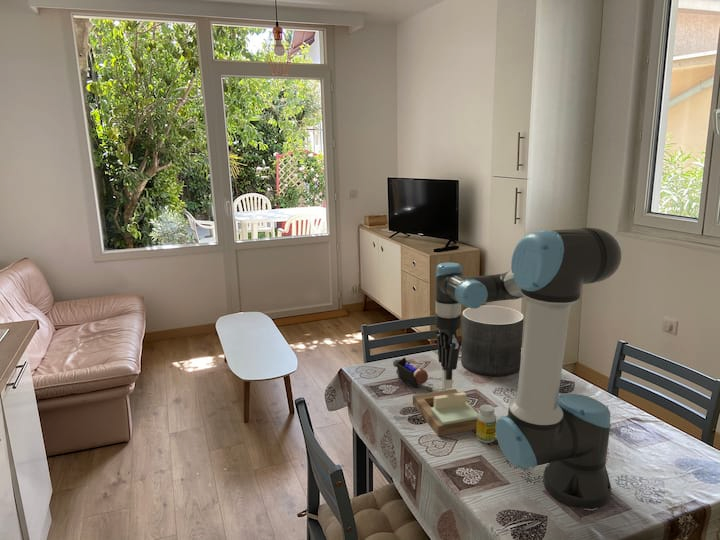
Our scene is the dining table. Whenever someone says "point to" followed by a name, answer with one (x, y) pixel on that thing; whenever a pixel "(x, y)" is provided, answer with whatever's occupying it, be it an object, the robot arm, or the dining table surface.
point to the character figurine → (410, 373)
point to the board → (423, 406)
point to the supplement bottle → (486, 424)
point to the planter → (491, 340)
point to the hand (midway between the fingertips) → (446, 387)
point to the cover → (453, 408)
